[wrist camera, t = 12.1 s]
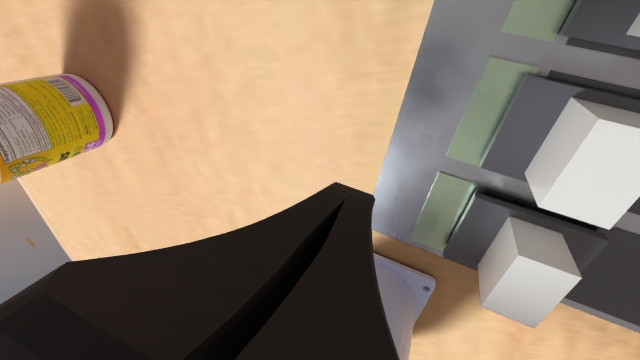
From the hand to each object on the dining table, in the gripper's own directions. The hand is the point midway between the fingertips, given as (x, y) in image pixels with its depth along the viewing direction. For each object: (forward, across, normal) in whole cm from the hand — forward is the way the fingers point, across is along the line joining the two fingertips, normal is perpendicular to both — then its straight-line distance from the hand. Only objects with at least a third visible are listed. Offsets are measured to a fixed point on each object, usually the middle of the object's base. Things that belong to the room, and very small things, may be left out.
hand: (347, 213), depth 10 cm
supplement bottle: (+10, +27, +7) cm, 30 cm away
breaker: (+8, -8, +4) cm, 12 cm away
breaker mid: (+8, -8, -2) cm, 11 cm away
